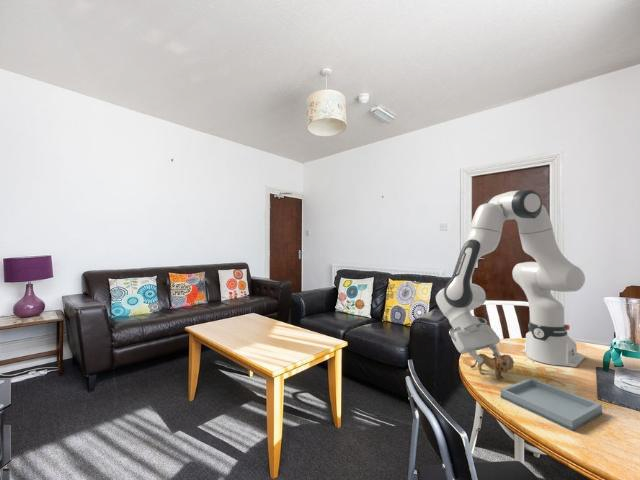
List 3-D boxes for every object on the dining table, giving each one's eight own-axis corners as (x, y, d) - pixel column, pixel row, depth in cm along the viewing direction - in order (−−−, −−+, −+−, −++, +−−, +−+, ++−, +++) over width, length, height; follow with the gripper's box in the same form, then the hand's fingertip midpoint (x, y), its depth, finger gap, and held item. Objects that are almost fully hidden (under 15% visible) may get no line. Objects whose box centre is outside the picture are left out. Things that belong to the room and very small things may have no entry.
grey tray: (530, 385, 96) (530, 378, 96) (602, 413, 80) (601, 404, 80) (500, 397, 89) (500, 389, 89) (572, 431, 73) (572, 421, 73)
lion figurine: (517, 381, 99) (516, 354, 99) (510, 385, 96) (509, 358, 96) (473, 366, 111) (473, 343, 111) (466, 370, 108) (466, 346, 108)
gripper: (451, 325, 106) (477, 361, 97) (487, 318, 115) (513, 350, 107) (442, 334, 110) (465, 369, 101) (477, 326, 119) (501, 358, 110)
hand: (490, 360), depth 104 cm, fingers open, 8 cm apart
